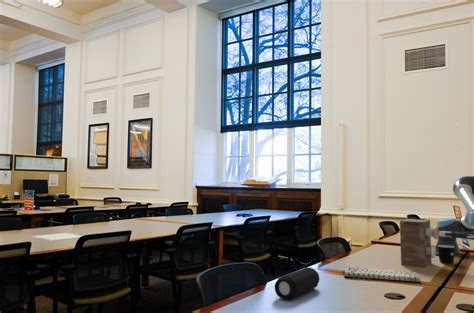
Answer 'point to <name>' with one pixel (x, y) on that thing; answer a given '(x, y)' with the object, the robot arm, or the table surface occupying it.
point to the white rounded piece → (431, 251)
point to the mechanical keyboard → (380, 275)
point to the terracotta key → (432, 232)
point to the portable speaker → (296, 283)
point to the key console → (415, 243)
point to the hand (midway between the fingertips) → (439, 233)
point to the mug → (446, 254)
